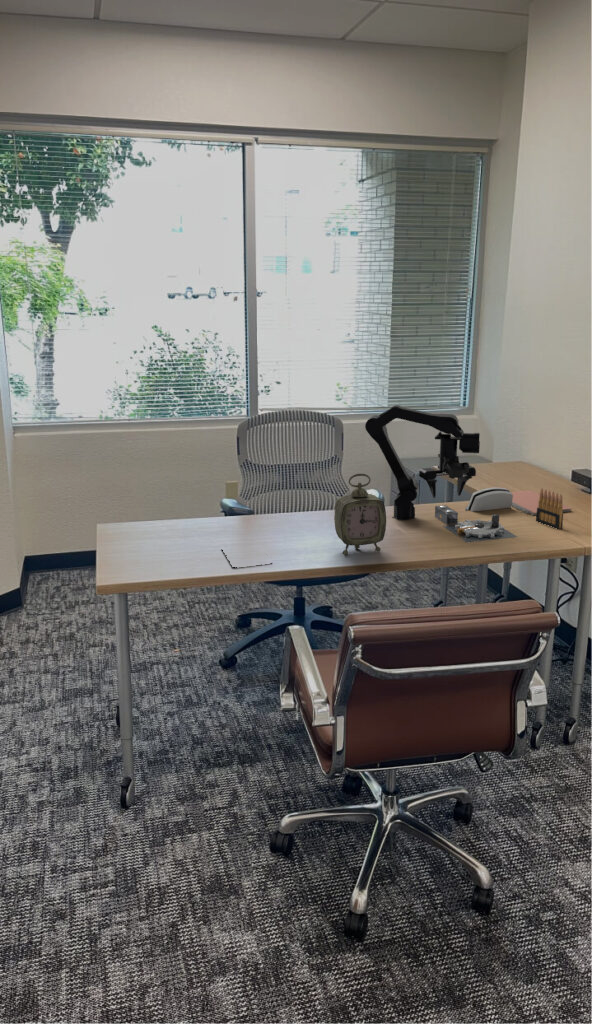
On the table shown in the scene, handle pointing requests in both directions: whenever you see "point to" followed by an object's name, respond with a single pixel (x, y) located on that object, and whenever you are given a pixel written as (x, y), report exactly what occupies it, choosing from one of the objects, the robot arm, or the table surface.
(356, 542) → the tabletop clock
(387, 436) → the robot arm
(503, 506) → the grey half-round block
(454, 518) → the chain link
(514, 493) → the notebook
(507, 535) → the base plate
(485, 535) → the sprocket wheel
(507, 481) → the table surface
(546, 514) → the ammunition clip
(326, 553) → the table surface
